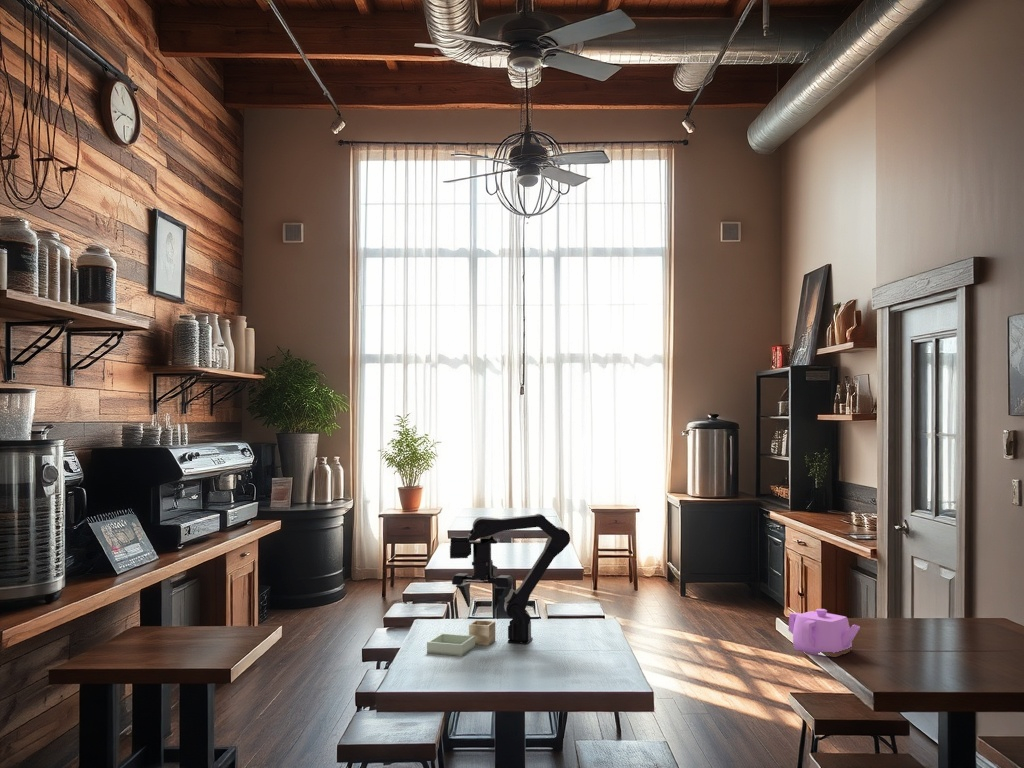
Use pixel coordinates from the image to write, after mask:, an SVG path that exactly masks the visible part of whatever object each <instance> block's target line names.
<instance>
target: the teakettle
mask: <svg viewBox="0 0 1024 768" xmlns="http://www.w3.org/2000/svg"><path fill="white" fill-rule="evenodd" d="M860 629H861V626H860V625H858V624H852V625H851V626H850V623H849V620H848V617H847V616H846V615H845V616H844V615H839V614H835V613H830V612H828V610H827V609H825V608H816V609H815V611H814V610H811V611H806V612H803V613H800V612H791V613H789V617H788V631H789V633H791V634H792V645H793V647H794V650H796V651H798V652H802V653H805V652H806V653H805V654H810V655H815V656H819V655H818V653H820V652H833V653H835V652H839V651H842V650H845V649H848V648H850V647H852V646H853V640H854V638H855V637H856V635H857V633H858V632H859V630H860ZM852 648H853V647H852Z"/></svg>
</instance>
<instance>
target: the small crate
mask: <svg viewBox="0 0 1024 768" xmlns="http://www.w3.org/2000/svg"><path fill="white" fill-rule="evenodd" d="M468 635H469V636H475V646H476V645H477V646H488V647H489V646H491V643H492V644H493V643H494V642H496V620H495V621H494V620H481V619H480V620H479V619H476V620H474V621H472V622H471V623H469V624H468Z"/></svg>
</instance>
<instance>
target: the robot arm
mask: <svg viewBox="0 0 1024 768" xmlns="http://www.w3.org/2000/svg"><path fill="white" fill-rule="evenodd" d="M531 528H532V529H533V528H539V529H540V530H542V531H543V532H544V533H545V534H546V535H548V537H547V538H546V541H545V544H544V548H543V550H542V551H541V552H540V555H539V557H538V558H537V560H536V561H535V562H534V564H533V565H532V567H531V568H530V570H529V572H528V573H527V575H526V576H525V578H524V580H523V581H522V583H521V584H520V585H519V586H518V587H517V589H515V590H514V589H513V588H511V589H510V590H509V592H508V594H507V595H506V597H504V604H503V605H504V606H503V608H504V611H505V612H506V615H507V616H508V617H509V618H511V620H509V625H508V626H507V639H508V640H507V643H510V644H511V643H515V644H523V645H524V644H525V645H527V644H529V643H530V642H531V641H532V640H533V637H532V620H531V619H532V617H531V615H530V613H529V612H528V611H527V610H526V608H527V606H528V603H529V599H530V596H531V594H532V592H533V591H535V588H536V586H537V585H538V583H539V582H540V580H541V578H543V575H545V572H546V571H547V569H548V568H549V566H550V565H551V563H552V562H553V560H554V559H555V558H556V557H557V556H558V555H559V554H560V553H561V552H563V551H564V549H565V548H566V547H567V546H568V545H569V543H570V542H571V535H570V533H569V532H568V531H567V530H566V529H564V528H562V527H559V526H556V525H555V524H553V523H552V522H550V520H548V519H547V518H546V517H545V516H544V515H543V514H542V513H535V514H534V515H533V514H530V515H522V516H521V515H520V516H511V517H504V518H498V517H497V518H495V517H485V516H480V517H477V518H476V519H474V520H473V523H472V528H471V530H470V531H469V533H467V535H466V536H450V543H449V544H450V545H449V559H452V560H453V559H454V560H455V559H469V556H471V555H472V560H473V561H471V566H473V567H472V571H473V573H472V575H471V576H470V573H466V572H458V573H456V574H453V576H452V578H451V585H452V586H453V585H454V586H455V585H456V586H455V588H456V589H457V588H458V589H459V591H460V594H461V595H462V598H463V599H464V601H465V604H466V606H467V608H470V607H471V590H470V589H471V583H475V584H477V583H478V584H493V585H494V584H495V586H496V587H494V609H495V610H497V609H498V608H499V604H500V601H501V598H502V595H503V593H504V591H505V590H506V589H508V588H510V587H511V586H513V584H514V579H513V577H512V575H508V574H507V575H505V574H500V575H498V566H496V565H494V561H493V559H492V544H497V543H498V540H496V539H495V538H494V536H493V535H495V534H498V533H501V532H507V531H513V530H525V529H531ZM478 539H479V540H478ZM497 575H498V576H497Z"/></svg>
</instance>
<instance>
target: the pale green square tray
mask: <svg viewBox="0 0 1024 768" xmlns="http://www.w3.org/2000/svg"><path fill="white" fill-rule="evenodd" d="M475 647H476V645H475V636H469V634H468V635H467V634H457V633H456V634H455V633H453V634H452V633H440V634H438V635H436V636H434V637H433V638H432V639H430V640H428V641H426V653H427V654H435V655H445V656H456V657H462V656H463V655H466V653H468V652H469V651H471V650H472V649H474V648H475Z"/></svg>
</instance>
